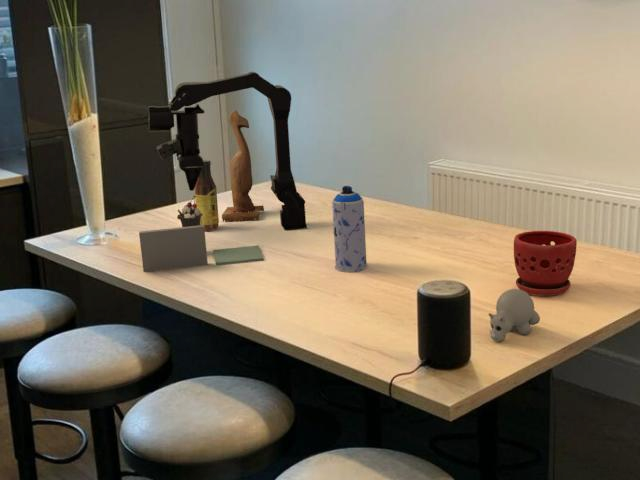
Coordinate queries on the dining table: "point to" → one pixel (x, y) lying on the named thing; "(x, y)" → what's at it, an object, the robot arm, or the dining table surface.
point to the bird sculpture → (241, 177)
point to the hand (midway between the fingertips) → (190, 186)
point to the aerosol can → (349, 231)
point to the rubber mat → (237, 255)
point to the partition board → (173, 248)
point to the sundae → (190, 215)
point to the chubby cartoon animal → (513, 314)
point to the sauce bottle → (207, 198)
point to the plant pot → (544, 261)
